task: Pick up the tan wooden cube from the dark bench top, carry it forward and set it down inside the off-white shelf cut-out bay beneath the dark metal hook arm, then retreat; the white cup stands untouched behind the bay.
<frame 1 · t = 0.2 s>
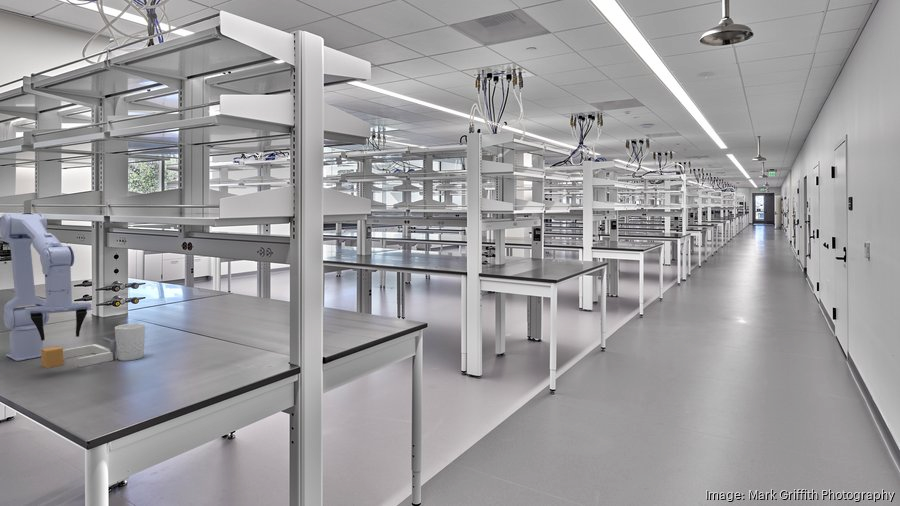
hand: (60, 337, 141), 10 cm above the lab bench, fingers open, 7 cm apart
tan wooden cube: (52, 365, 147), on the lab bench
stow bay: (85, 359, 153), on the lab bench
white cup: (131, 358, 156), on the lab bench
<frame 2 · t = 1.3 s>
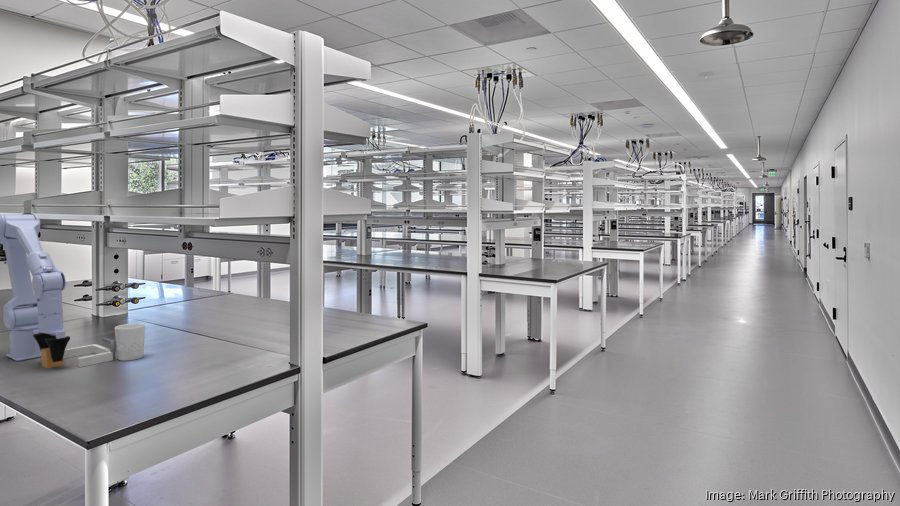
hand: (52, 358, 147), 2 cm above the lab bench, fingers open, 7 cm apart
nothing on the lab bench moved.
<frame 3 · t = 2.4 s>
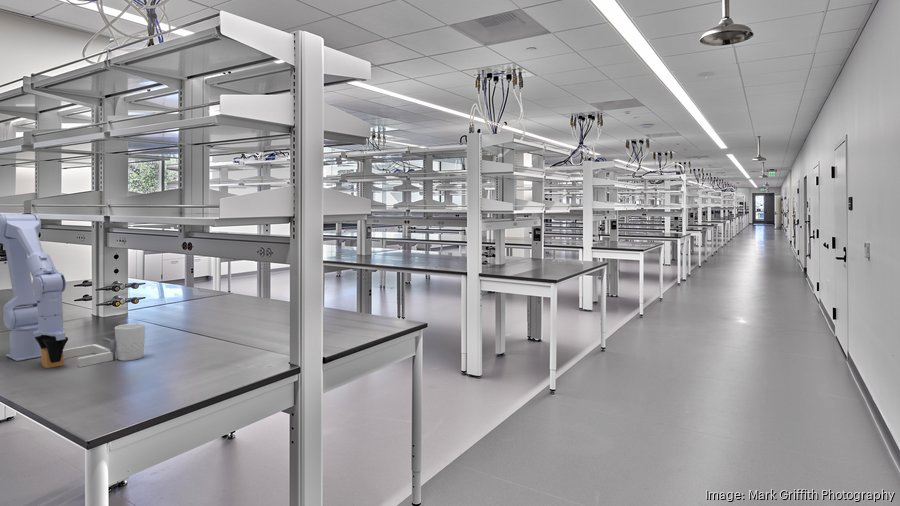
hand: (52, 360, 147), 1 cm above the lab bench, fingers closed on tan wooden cube, 4 cm apart
tan wooden cube: (52, 365, 147), on the lab bench, touching gripper
everything else where it was.
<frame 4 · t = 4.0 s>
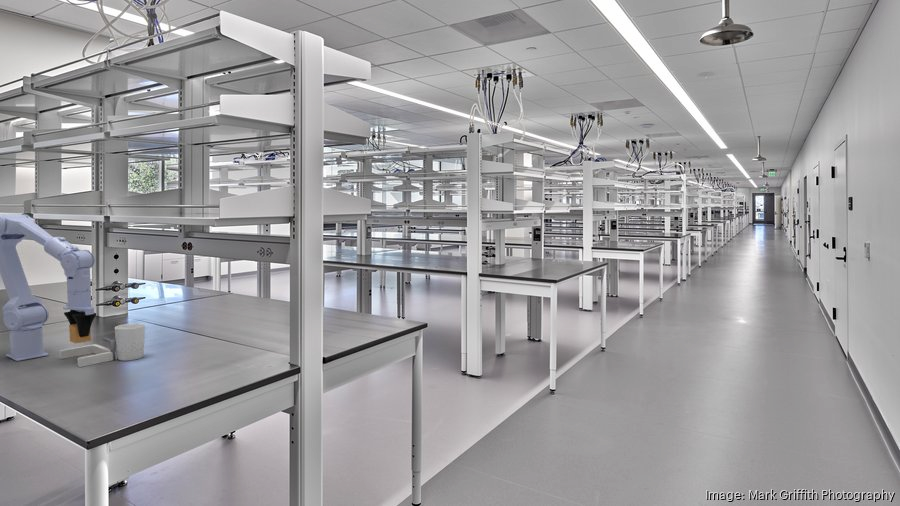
hand: (81, 335, 152), 8 cm above the lab bench, fingers closed on tan wooden cube, 4 cm apart
tan wooden cube: (80, 340, 152), point 6 cm above the lab bench, touching gripper
everything else where it was.
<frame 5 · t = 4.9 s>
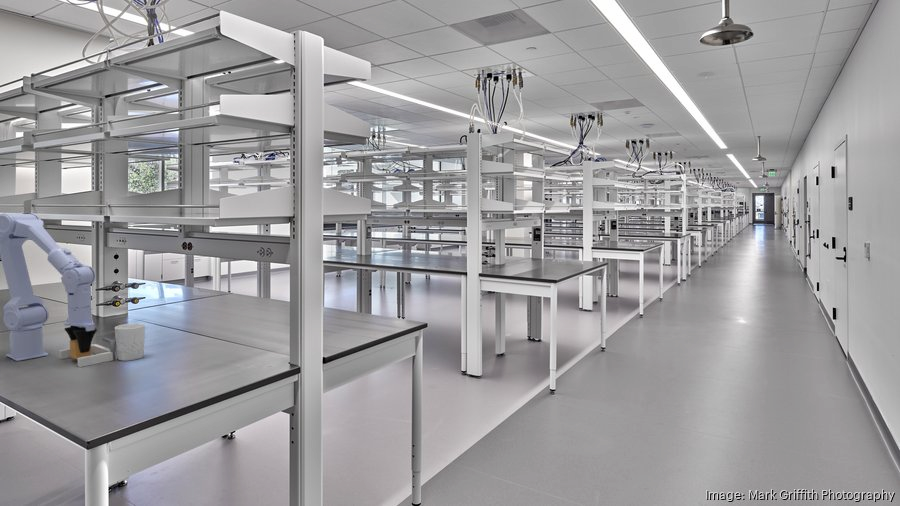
hand: (81, 350, 152), 3 cm above the lab bench, fingers closed on tan wooden cube, 4 cm apart
tan wooden cube: (81, 356, 152), point 1 cm above the lab bench, touching gripper
everything else where it was.
when the fingers open (3 cm above the lab bench, at t = 5.6 s): tan wooden cube drops 1 cm, on the lab bench.
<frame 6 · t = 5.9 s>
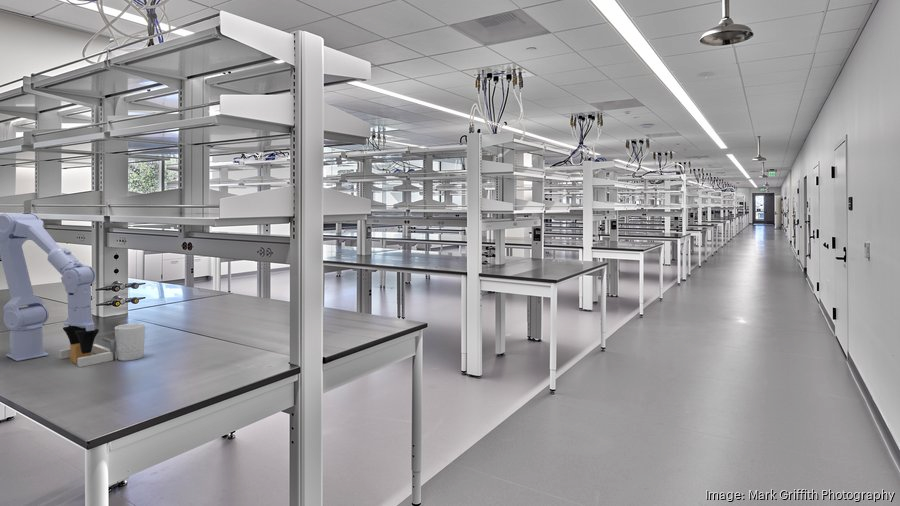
hand: (81, 350, 152), 3 cm above the lab bench, fingers open, 7 cm apart
tan wooden cube: (81, 360, 152), on the lab bench
everything else where it was.
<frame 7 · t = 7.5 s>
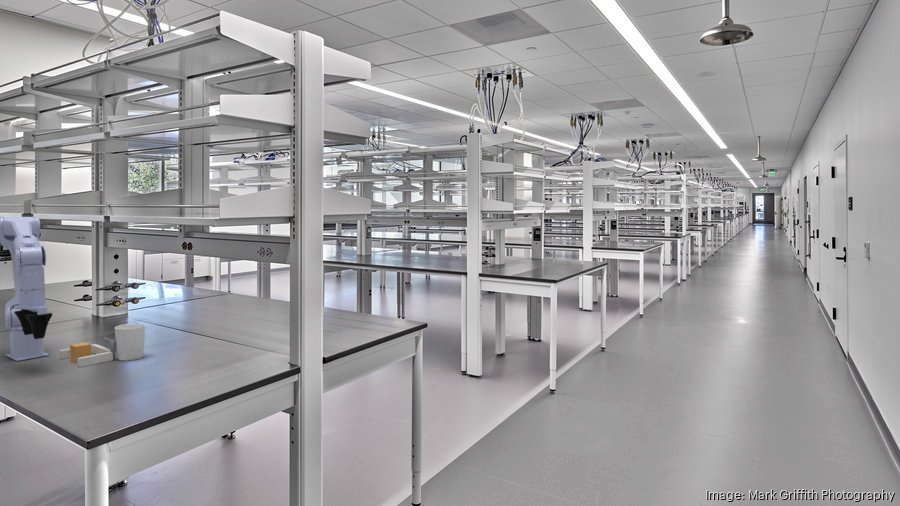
hand: (34, 336, 143), 9 cm above the lab bench, fingers open, 7 cm apart
nothing on the lab bench moved.
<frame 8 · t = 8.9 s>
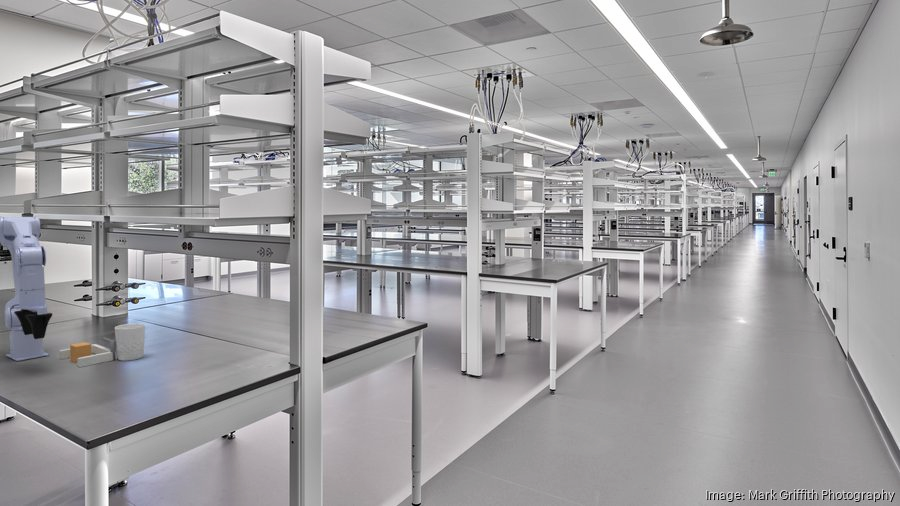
hand: (34, 336, 143), 9 cm above the lab bench, fingers open, 7 cm apart
nothing on the lab bench moved.
at the end: tan wooden cube inside the target area (1.2 cm from its centre), on the lab bench; tan wooden cube tilted 0°; white cup moved 0.2 cm from its start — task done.
